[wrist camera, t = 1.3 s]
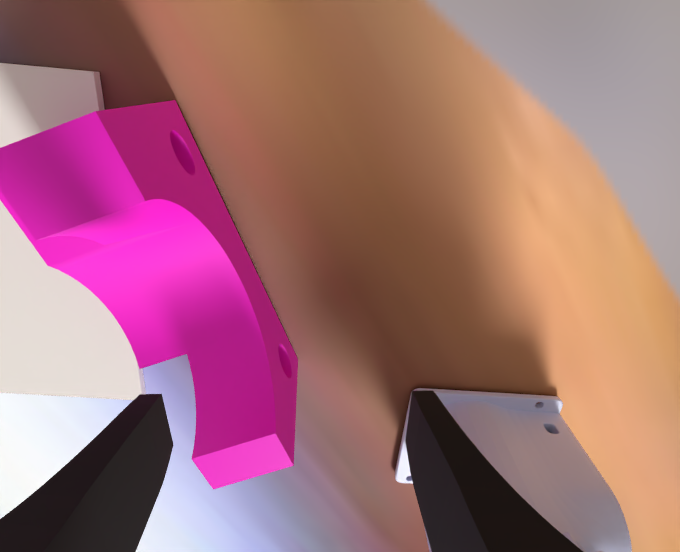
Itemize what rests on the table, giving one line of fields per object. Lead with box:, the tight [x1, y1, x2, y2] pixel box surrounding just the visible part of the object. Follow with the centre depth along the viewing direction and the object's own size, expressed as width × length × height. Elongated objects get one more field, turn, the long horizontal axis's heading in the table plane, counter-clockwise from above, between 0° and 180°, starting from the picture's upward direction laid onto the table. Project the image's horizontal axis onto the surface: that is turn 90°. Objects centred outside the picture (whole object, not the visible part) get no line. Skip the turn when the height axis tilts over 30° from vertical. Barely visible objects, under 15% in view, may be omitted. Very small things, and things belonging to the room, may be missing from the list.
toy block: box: [0, 100, 298, 489], centre depth 18 cm, size 15×6×8 cm, turn 18°
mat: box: [0, 63, 146, 400], centre depth 21 cm, size 10×18×1 cm, turn 175°
